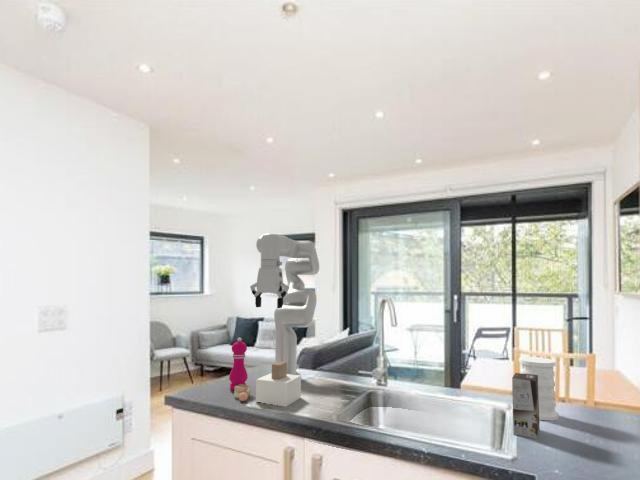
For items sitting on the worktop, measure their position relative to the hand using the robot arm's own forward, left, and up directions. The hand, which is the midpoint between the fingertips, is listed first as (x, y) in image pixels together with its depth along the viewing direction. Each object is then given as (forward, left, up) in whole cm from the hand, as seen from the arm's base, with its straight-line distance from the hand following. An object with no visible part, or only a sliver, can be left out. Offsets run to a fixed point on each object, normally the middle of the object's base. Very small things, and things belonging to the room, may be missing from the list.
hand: (269, 307), depth 166 cm
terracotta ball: (+16, -1, -32) cm, 36 cm away
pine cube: (+11, -4, -32) cm, 35 cm away
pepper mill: (+2, -12, -32) cm, 35 cm away
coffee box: (+7, +91, -32) cm, 97 cm away
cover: (+9, +10, -32) cm, 35 cm away
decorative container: (-12, +96, -32) cm, 102 cm away
